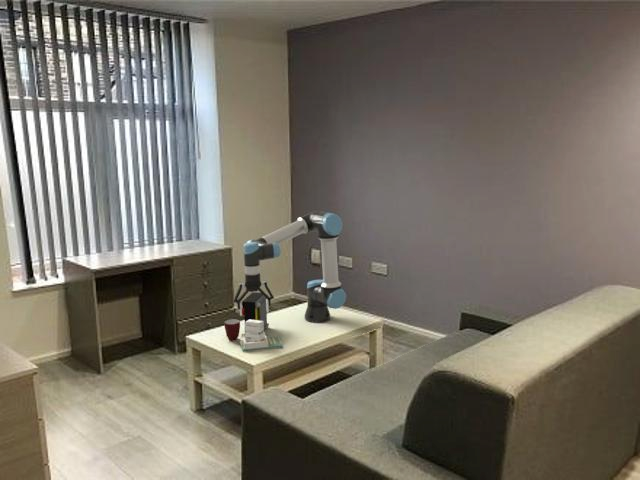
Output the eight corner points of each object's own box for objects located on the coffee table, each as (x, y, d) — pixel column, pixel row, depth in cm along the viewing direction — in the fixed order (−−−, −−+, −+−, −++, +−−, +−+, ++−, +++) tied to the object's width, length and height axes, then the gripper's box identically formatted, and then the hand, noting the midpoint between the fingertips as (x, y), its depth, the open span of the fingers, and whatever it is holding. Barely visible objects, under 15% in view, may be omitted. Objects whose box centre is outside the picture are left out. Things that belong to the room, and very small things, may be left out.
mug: (219, 338, 283) (218, 320, 281) (231, 334, 289) (230, 317, 287) (231, 343, 276) (230, 325, 274) (243, 339, 282) (243, 321, 280)
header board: (277, 338, 283) (277, 330, 282) (282, 347, 270) (282, 339, 269) (239, 341, 278) (239, 334, 277) (242, 351, 265) (241, 343, 264)
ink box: (264, 342, 274) (264, 320, 272) (260, 345, 269) (259, 323, 267) (249, 340, 277) (248, 318, 275) (245, 343, 272) (244, 321, 270)
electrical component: (260, 338, 283) (258, 302, 279) (241, 337, 285) (240, 301, 281) (269, 327, 300) (268, 293, 296) (252, 326, 302) (251, 292, 298)
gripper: (275, 269, 273) (277, 308, 277) (226, 273, 267) (229, 313, 271) (278, 273, 266) (279, 313, 270) (227, 277, 260) (230, 318, 264)
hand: (254, 313), depth 270 cm, fingers open, 13 cm apart
